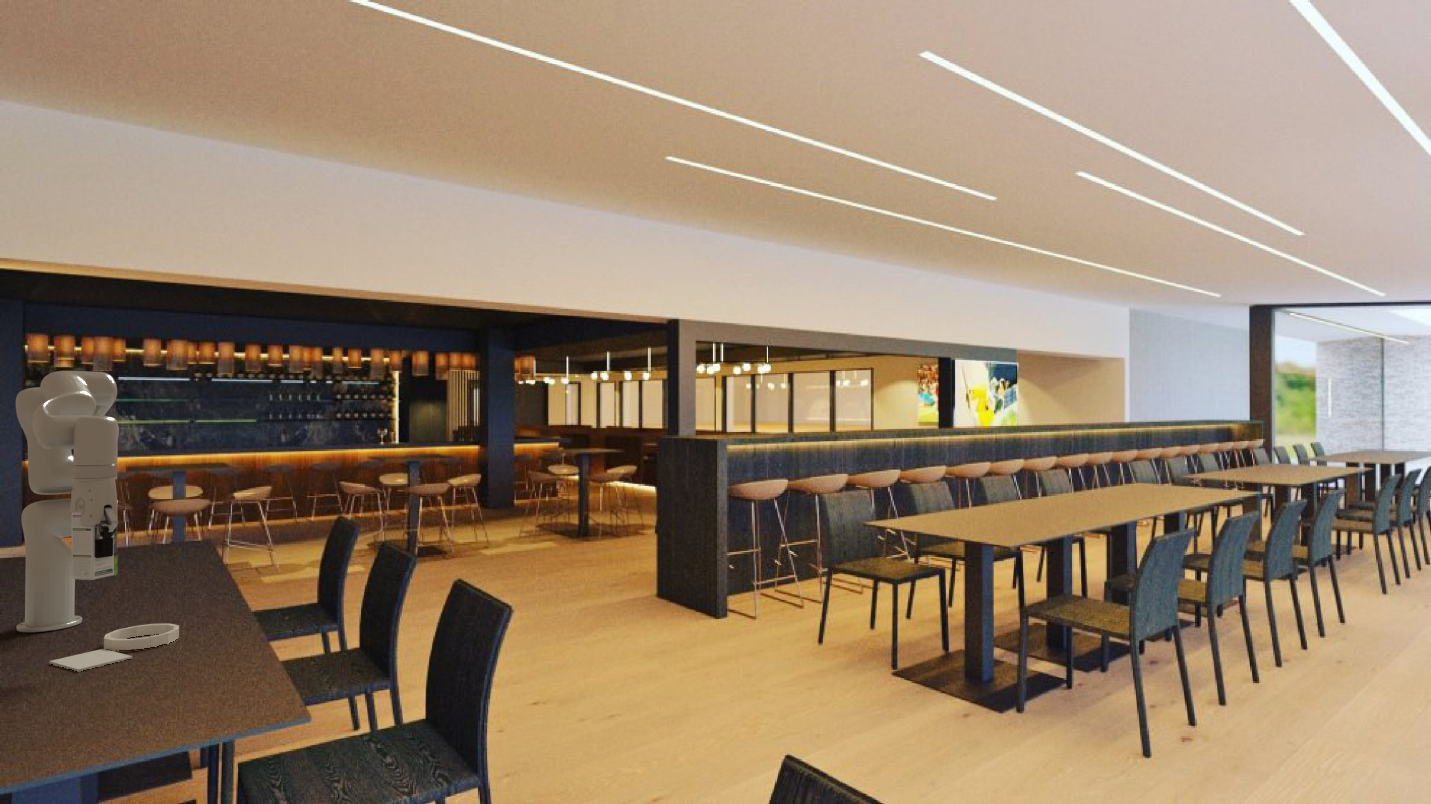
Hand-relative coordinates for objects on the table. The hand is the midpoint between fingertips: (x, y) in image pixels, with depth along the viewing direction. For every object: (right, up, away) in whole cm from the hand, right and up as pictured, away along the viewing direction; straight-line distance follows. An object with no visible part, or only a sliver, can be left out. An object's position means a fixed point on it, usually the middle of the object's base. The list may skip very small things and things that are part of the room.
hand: (94, 555), depth 171 cm
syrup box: (0, -5, 0) cm, 5 cm away
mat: (0, -23, -1) cm, 23 cm away
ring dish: (+1, -23, +13) cm, 27 cm away
